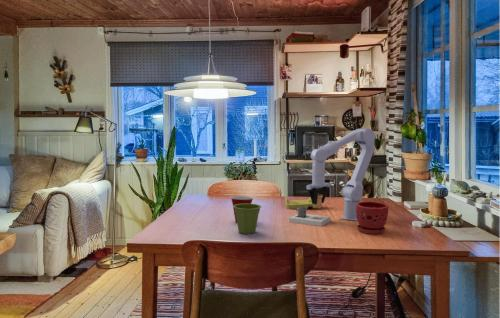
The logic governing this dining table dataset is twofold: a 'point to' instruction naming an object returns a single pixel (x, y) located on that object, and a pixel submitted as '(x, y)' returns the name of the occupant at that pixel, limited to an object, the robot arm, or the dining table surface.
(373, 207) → the plant pot
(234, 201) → the plastic cup
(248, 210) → the plant pot
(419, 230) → the dining table surface
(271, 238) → the dining table surface
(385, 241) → the dining table surface
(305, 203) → the plastic component
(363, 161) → the robot arm
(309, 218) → the housing
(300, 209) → the charcoal flared cup
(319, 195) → the tan rubber stopper
